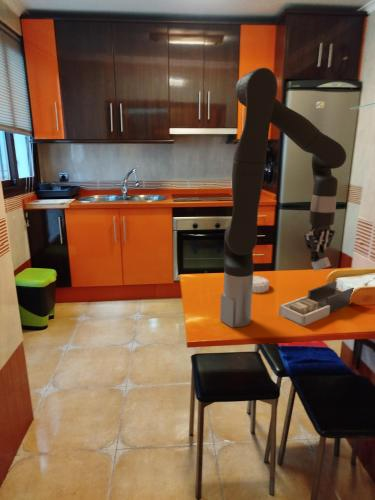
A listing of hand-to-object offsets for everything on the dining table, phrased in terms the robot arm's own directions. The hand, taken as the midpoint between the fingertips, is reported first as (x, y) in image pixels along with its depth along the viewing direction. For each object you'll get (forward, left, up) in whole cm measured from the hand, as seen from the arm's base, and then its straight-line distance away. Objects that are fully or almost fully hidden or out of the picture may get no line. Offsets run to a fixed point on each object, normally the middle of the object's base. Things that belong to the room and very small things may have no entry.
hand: (316, 260), depth 116 cm
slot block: (+11, 0, -19) cm, 22 cm away
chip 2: (-2, 0, -18) cm, 19 cm away
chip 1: (-5, 0, -16) cm, 17 cm away
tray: (-4, 0, -19) cm, 19 cm away
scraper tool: (0, -3, -2) cm, 3 cm away
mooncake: (0, +28, -19) cm, 34 cm away
